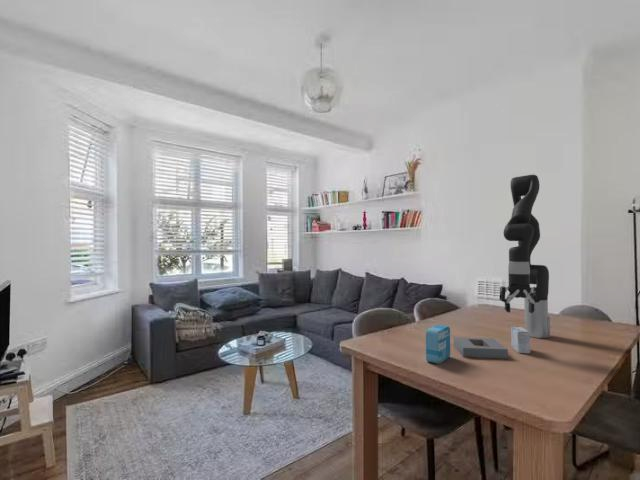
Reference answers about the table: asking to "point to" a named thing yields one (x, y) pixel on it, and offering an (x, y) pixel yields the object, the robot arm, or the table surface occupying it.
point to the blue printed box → (437, 344)
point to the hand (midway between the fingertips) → (519, 312)
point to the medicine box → (520, 340)
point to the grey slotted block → (480, 347)
